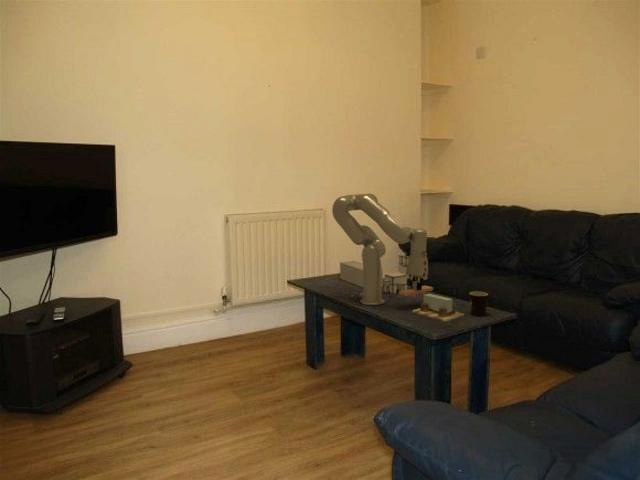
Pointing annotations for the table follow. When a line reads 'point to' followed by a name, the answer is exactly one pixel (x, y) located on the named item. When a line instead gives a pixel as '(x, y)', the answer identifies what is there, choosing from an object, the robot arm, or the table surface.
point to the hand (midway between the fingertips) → (416, 288)
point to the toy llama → (397, 277)
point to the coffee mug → (478, 303)
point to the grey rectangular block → (354, 272)
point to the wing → (415, 290)
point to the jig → (438, 313)
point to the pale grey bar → (438, 302)
